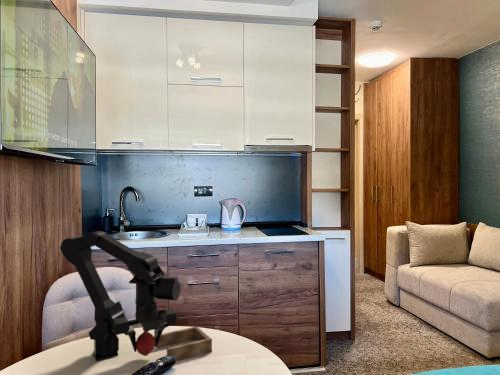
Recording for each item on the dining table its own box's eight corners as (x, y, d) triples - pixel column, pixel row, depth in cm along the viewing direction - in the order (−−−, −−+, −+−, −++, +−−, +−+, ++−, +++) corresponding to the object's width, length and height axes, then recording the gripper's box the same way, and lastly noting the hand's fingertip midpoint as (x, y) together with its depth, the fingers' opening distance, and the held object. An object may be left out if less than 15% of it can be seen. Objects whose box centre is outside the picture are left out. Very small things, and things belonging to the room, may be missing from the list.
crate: (168, 363, 106) (168, 349, 106) (156, 347, 116) (156, 335, 116) (211, 351, 113) (211, 339, 113) (196, 337, 124) (196, 326, 124)
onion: (149, 361, 105) (149, 334, 105) (131, 359, 106) (131, 332, 106) (158, 352, 111) (158, 326, 111) (141, 350, 112) (141, 325, 112)
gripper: (118, 311, 97) (118, 368, 97) (184, 300, 106) (184, 352, 106) (111, 300, 106) (111, 352, 106) (172, 290, 116) (171, 338, 116)
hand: (145, 349), depth 108 cm, fingers closed on onion, 6 cm apart
